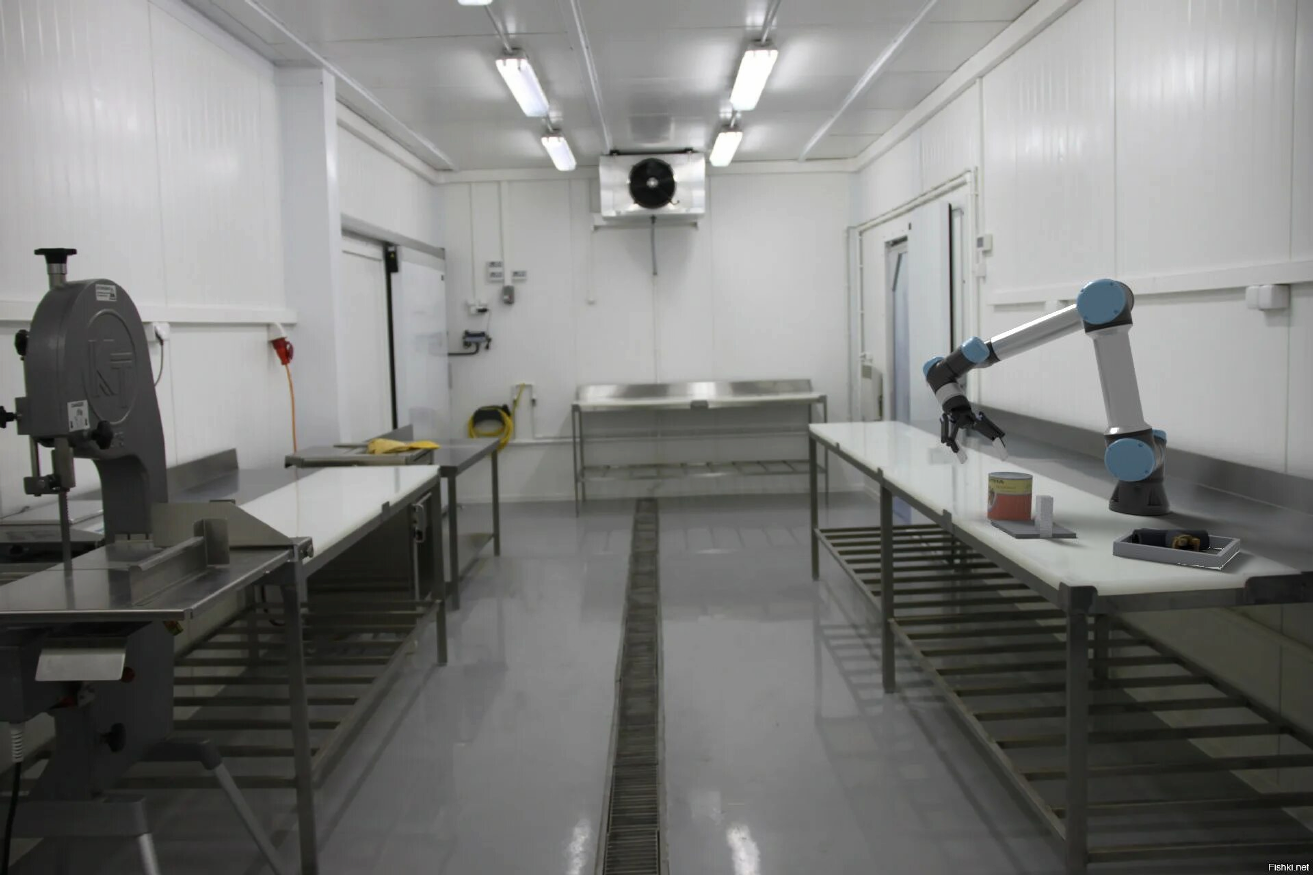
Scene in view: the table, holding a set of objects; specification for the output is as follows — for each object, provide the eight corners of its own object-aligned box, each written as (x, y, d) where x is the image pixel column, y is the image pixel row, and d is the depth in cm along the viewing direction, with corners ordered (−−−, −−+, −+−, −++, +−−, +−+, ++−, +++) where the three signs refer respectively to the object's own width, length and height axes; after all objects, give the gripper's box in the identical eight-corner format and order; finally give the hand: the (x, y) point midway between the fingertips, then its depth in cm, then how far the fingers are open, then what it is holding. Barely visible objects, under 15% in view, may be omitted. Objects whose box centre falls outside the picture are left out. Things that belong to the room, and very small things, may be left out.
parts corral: (1239, 551, 206) (1240, 538, 206) (1220, 570, 191) (1220, 556, 190) (1138, 538, 220) (1139, 526, 220) (1112, 554, 205) (1113, 541, 204)
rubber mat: (990, 524, 238) (990, 520, 238) (1047, 523, 238) (1047, 519, 238) (1015, 538, 222) (1015, 534, 222) (1076, 537, 222) (1076, 533, 222)
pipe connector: (1226, 537, 199) (1155, 536, 200) (1224, 560, 199) (1154, 560, 200) (1198, 526, 210) (1132, 526, 211) (1197, 549, 211) (1131, 549, 212)
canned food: (981, 514, 250) (982, 471, 249) (1022, 514, 250) (1023, 471, 249) (994, 523, 239) (996, 478, 238) (1038, 523, 239) (1039, 478, 237)
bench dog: (1034, 535, 225) (1036, 495, 224) (1046, 534, 225) (1048, 495, 224) (1039, 537, 222) (1041, 497, 221) (1051, 537, 222) (1053, 497, 221)
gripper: (983, 409, 272) (1015, 465, 259) (911, 412, 264) (941, 470, 252) (995, 392, 266) (1029, 449, 254) (922, 395, 259) (953, 453, 246)
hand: (985, 459), depth 253 cm, fingers open, 13 cm apart
